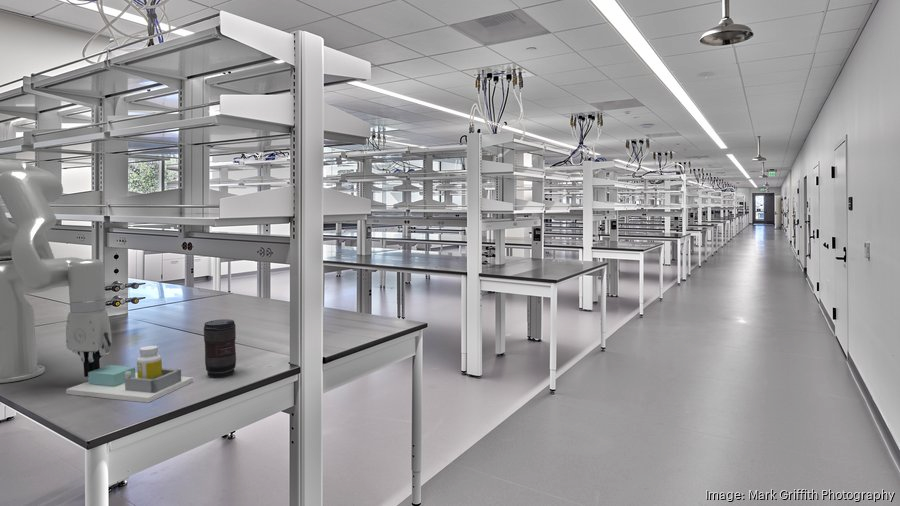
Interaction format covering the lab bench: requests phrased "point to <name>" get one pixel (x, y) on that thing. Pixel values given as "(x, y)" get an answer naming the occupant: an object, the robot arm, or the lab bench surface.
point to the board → (135, 387)
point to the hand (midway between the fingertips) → (92, 375)
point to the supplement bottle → (149, 363)
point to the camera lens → (220, 347)
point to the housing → (110, 375)
